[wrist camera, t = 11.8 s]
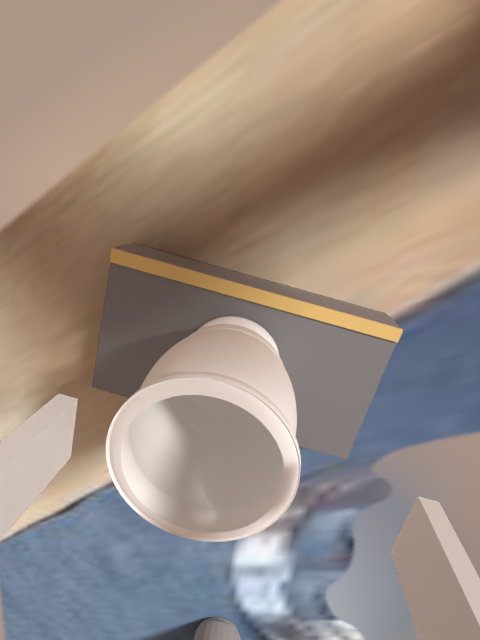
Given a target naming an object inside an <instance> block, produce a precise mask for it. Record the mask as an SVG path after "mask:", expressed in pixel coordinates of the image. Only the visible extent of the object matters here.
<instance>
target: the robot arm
mask: <svg viewBox="0 0 480 640" xmlns="http://www.w3.org/2000/svg"><path fill="white" fill-rule="evenodd" d="M77 403H78V399H77V398H73V397H70V396H66V395H63V394H57V395H56V396H55V397H54V398H53V399H51V400H50V401H49V402H48V403H47V404H45V405H44V406H43V407H42V408H40V409H39V410H38V411H37V412H36V413H34V414H33V415H32V416H31V417H30V418H28V419H27V420H26V421H25V422H24V423H22V424H21V425H20V426H19V427H18V428H16V429H15V430H14V431H13V432H12V433H10V434H9V435H8V436H7V437H6V438H4V439H3V440H2V441H1V442H0V540H1V539H2V538H3V537H4V536H5V535H6V533H7V532H8V531H9V530H10V529H11V527H12V526H13V525H14V524H15V523H16V522H17V520H18V519H19V518H20V517H21V516H22V514H23V513H24V512H25V511H26V510H27V509H28V507H29V506H30V505H31V504H32V503H33V501H34V500H35V499H36V498H37V497H38V496H39V494H40V493H41V492H42V491H43V490H44V488H45V487H46V486H47V485H48V484H49V483H50V481H51V480H52V479H53V478H54V477H55V475H56V474H57V473H58V472H59V471H60V470H61V468H62V467H63V466H64V465H65V464H66V463H67V461H68V460H69V459H70V458H71V452H72V444H73V436H74V427H75V419H76V411H77ZM390 551H391V554H392V557H393V560H394V563H395V566H396V570H397V573H398V576H399V579H400V582H401V585H402V589H403V592H404V595H405V598H406V602H407V605H408V608H409V611H410V614H411V617H412V620H413V624H414V627H415V630H416V633H417V636H418V639H419V640H480V578H479V576H478V575H477V573H476V571H475V569H474V567H473V565H472V563H471V561H470V560H469V558H468V556H467V554H466V552H465V550H464V548H463V546H462V545H461V543H460V541H459V539H458V537H457V535H456V533H455V531H454V530H453V528H452V526H451V524H450V522H449V520H448V518H447V517H446V515H445V513H444V511H443V509H442V507H441V505H440V503H439V502H437V501H433V500H430V499H426V498H423V497H418V498H417V500H416V502H415V504H414V506H413V508H412V510H411V512H410V514H409V516H408V517H407V520H406V521H405V523H404V526H403V528H402V529H401V531H400V533H399V535H398V537H397V539H396V541H395V543H394V544H393V547H392V548H391V550H390Z"/></svg>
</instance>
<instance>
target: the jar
mask: <svg viewBox="0 0 480 640" xmlns="http://www.w3.org/2000/svg"><path fill="white" fill-rule="evenodd" d="M296 428H297V409H296V400H295V395H294V390H293V387H292V384H291V381H290V378H289V376H288V373H287V371H286V369H285V367H284V365H283V362H282V360H281V358H280V356H279V352H278V348H277V346H276V343H275V342H274V340H273V338H272V337H271V336H270V334H269V333H268V332H267V331H266V330H265V329H264V328H263V327H261V326H260V325H258V324H257V323H255V322H253V321H251V320H248V319H245V318H241V317H235V316H226V317H220V318H216V319H213V320H211V321H209V322H207V323H205V324H204V325H203V326H201V327H200V328H199V329H198V330H197V331H196V332H194V333H193V334H191V335H189V336H188V337H187V338H185V339H183V340H181V341H180V342H178V343H177V344H175V345H174V346H173V347H172V348H170V349H169V350H168V351H167V352H166V353H165V354H164V355H163V356H162V357H161V358H160V359H159V360H158V361H157V362H156V364H155V365H154V366H153V368H152V369H151V370H150V372H149V373H148V375H147V377H146V378H145V380H144V382H143V384H142V386H141V388H140V389H139V390H138V391H137V392H135V393H134V394H133V395H132V396H131V397H130V398H129V399H128V400H127V401H126V402H125V403H124V404H123V405H122V407H121V408H120V409H119V410H118V412H117V413H116V415H115V417H114V418H113V420H112V422H111V425H110V427H109V430H108V434H107V439H106V460H107V465H108V469H109V472H110V475H111V478H112V480H113V482H114V484H115V486H116V488H117V490H118V491H119V493H120V494H121V496H122V497H123V498H124V500H125V501H126V502H127V503H128V504H129V505H130V506H131V507H132V508H133V509H134V510H135V511H136V512H137V513H138V514H139V515H140V516H142V517H143V518H144V519H146V520H147V521H149V522H150V523H152V524H153V525H155V526H157V527H159V528H160V529H162V530H165V531H167V532H169V533H172V534H174V535H177V536H180V537H184V538H188V539H192V540H198V541H207V542H223V541H232V540H237V539H242V538H245V537H248V536H251V535H254V534H256V533H258V532H260V531H262V530H264V529H266V528H267V527H269V526H270V525H272V524H273V523H274V522H276V521H277V520H278V519H279V518H280V517H281V516H282V515H283V514H284V513H285V511H286V510H287V509H288V508H289V506H290V504H291V503H292V501H293V499H294V497H295V495H296V492H297V489H298V485H299V480H300V471H301V457H300V450H299V445H298V442H297V439H296Z"/></svg>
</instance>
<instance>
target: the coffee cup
mask: <svg viewBox="0 0 480 640" xmlns="http://www.w3.org/2000/svg"><path fill="white" fill-rule="evenodd" d="M194 640H240V635H239V631H238V629H237V627H236V626H235V625H234V624H233V623H232V622H230V621H228V620H226V619H223V618H219V617H212V618H208V619H205V620H204V621H202V622H201V623H200V625H199V626H198V628H197V629H196V632H195V636H194Z"/></svg>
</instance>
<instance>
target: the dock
mask: <svg viewBox="0 0 480 640" xmlns="http://www.w3.org/2000/svg"><path fill="white" fill-rule="evenodd" d="M109 262H111V264H110V270H109V277H108V284H107V290H106V297H105V304H104V310H103V317H102V323H101V330H100V337H99V343H98V350H97V357H96V363H95V370H94V377H93V383H92V387H94V388H98V389H101V390H105V391H108V392H112V393H115V394H119V395H122V396H126V397H129V398H130V397H131V396H132V395H133V394H134V393H135V392H137V391H138V390H139V389H140V388H141V386H142V384H143V382H144V380H145V378H146V377H147V375H148V373H149V372H150V370H151V369H152V368H153V366H154V365H155V364H156V362H157V361H158V360H159V359H160V358H161V357H162V356H163V355H164V354H165V353H166V352H167V351H168V350H169V349H170V348H172V347H173V346H174V345H175V344H177V343H178V342H180V341H181V340H183V339H185V338H187V337H188V336H189V335H191V334H193V333H194V332H196V331H197V330H198V329H199V328H200V327H201V326H203V325H204V324H205V323H207V322H209V321H211V320H213V319H216V318H220V317H226V316H235V317H241V318H245V319H248V320H251V321H253V322H255V323H257V324H258V325H260V326H261V327H263V328H264V329H265V330H266V331H267V332H268V333H269V334H270V336H271V337H272V338H273V340H274V342H275V343H276V346H277V348H278V352H279V356H280V358H281V360H282V362H283V365H284V367H285V369H286V371H287V373H288V376H289V378H290V381H291V384H292V387H293V390H294V395H295V400H296V409H297V428H296V439H297V442H298V445H299V446H300V447H304V448H307V449H311V450H314V451H317V452H321V453H324V454H328V455H331V456H335V457H338V458H342V459H345V460H347V458H348V455H349V453H350V451H351V448H352V446H353V444H354V441H355V439H356V437H357V434H358V432H359V430H360V427H361V425H362V422H363V420H364V418H365V415H366V413H367V411H368V408H369V406H370V404H371V401H372V399H373V397H374V394H375V392H376V390H377V387H378V385H379V382H380V380H381V378H382V375H383V373H384V371H385V368H386V366H387V364H388V361H389V359H390V357H391V354H392V352H393V349H394V347H395V345H396V342H397V343H398V341H399V339H400V337H401V334H402V332H403V329H402V328H401V327H400V326H399V325H398V324H397V323H395V322H394V321H393V320H392V319H391V318H390V317H389V316H388V315H387V314H386V313H383V312H379V311H375V310H372V309H368V308H365V307H361V306H357V305H354V304H350V303H347V302H343V301H340V300H336V299H332V298H329V297H325V296H322V295H318V294H314V293H311V292H307V291H304V290H300V289H297V288H293V287H289V286H286V285H282V284H279V283H275V282H271V281H268V280H264V279H261V278H257V277H253V276H250V275H246V274H243V273H239V272H236V271H232V270H228V269H225V268H221V267H218V266H214V265H210V264H207V263H203V262H200V261H196V260H192V259H189V258H185V257H182V256H178V255H175V254H171V253H167V252H164V251H160V250H157V249H153V248H149V247H146V246H142V245H139V244H135V243H134V244H129V245H124V246H120V247H115V248H111V254H110V261H109Z"/></svg>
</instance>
